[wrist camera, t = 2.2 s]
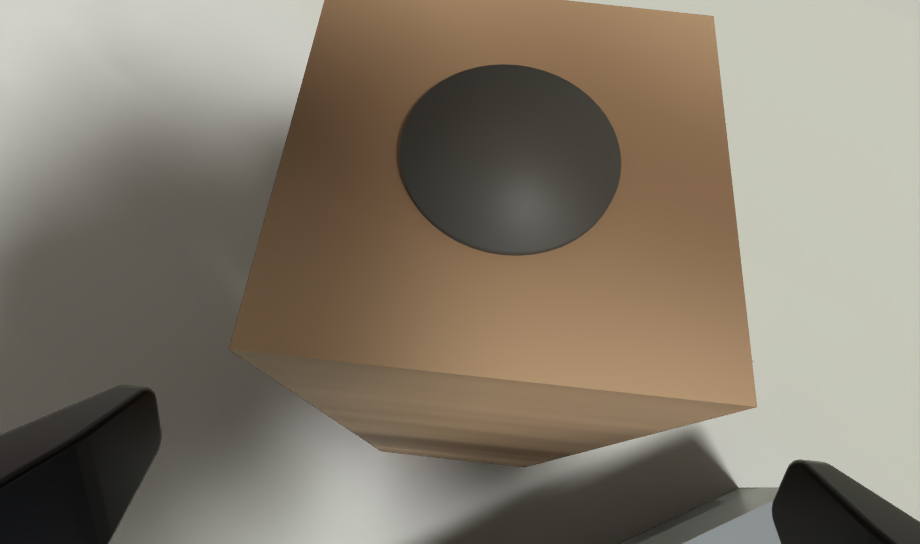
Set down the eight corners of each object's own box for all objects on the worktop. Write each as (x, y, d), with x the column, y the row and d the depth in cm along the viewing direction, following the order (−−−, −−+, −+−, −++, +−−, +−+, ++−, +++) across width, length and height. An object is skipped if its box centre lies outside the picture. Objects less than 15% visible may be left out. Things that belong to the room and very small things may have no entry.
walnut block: (524, 467, 16) (764, 406, 4) (381, 451, 17) (225, 346, 4) (531, 328, 18) (717, 9, 6) (401, 314, 18) (330, -33, 6)
